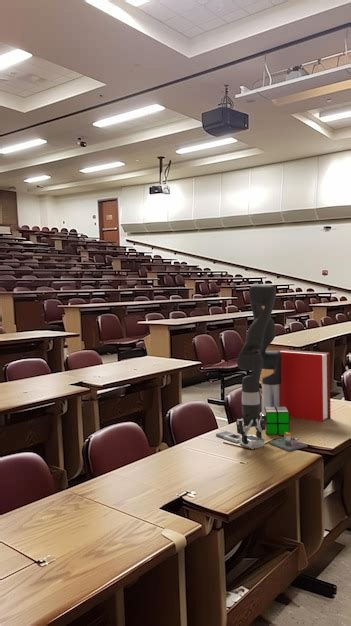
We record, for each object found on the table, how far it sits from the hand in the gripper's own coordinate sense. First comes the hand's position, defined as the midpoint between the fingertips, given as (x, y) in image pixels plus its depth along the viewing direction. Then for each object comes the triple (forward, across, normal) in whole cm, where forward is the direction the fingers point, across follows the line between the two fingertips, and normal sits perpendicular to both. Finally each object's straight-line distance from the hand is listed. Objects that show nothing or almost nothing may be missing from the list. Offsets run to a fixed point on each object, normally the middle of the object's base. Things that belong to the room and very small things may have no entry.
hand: (251, 442), depth 197 cm
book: (+1, -48, -22) cm, 53 cm away
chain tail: (+1, +1, -12) cm, 13 cm away
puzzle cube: (+1, -21, -9) cm, 23 cm away
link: (+1, 0, 0) cm, 1 cm away
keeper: (+1, -12, +8) cm, 14 cm away
